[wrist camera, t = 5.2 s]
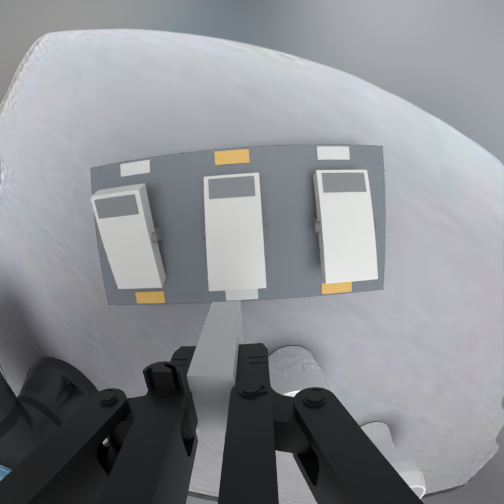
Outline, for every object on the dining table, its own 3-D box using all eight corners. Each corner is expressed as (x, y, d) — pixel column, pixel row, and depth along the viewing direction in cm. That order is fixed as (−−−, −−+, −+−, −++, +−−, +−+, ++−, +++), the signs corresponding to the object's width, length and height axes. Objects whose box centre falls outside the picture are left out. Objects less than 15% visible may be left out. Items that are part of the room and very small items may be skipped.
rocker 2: (207, 290, 25) (203, 291, 23) (202, 182, 25) (198, 176, 23) (270, 286, 25) (271, 287, 23) (263, 178, 25) (264, 171, 23)
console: (127, 286, 35) (99, 311, 27) (114, 170, 32) (79, 168, 24) (363, 273, 34) (390, 295, 26) (361, 151, 31) (390, 143, 24)
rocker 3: (317, 283, 25) (321, 284, 23) (308, 175, 25) (311, 169, 23) (375, 278, 24) (383, 278, 23) (365, 175, 25) (372, 169, 23)
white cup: (255, 388, 38) (256, 441, 28) (264, 338, 36) (267, 387, 26) (313, 391, 38) (326, 442, 28) (326, 343, 36) (346, 390, 26)
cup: (345, 464, 42) (364, 528, 27) (328, 433, 40) (348, 508, 25) (400, 439, 41) (430, 499, 26) (390, 405, 39) (428, 473, 24)
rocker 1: (120, 279, 27) (114, 290, 26) (94, 190, 23) (85, 198, 21) (170, 277, 27) (166, 288, 26) (149, 182, 23) (143, 189, 21)
